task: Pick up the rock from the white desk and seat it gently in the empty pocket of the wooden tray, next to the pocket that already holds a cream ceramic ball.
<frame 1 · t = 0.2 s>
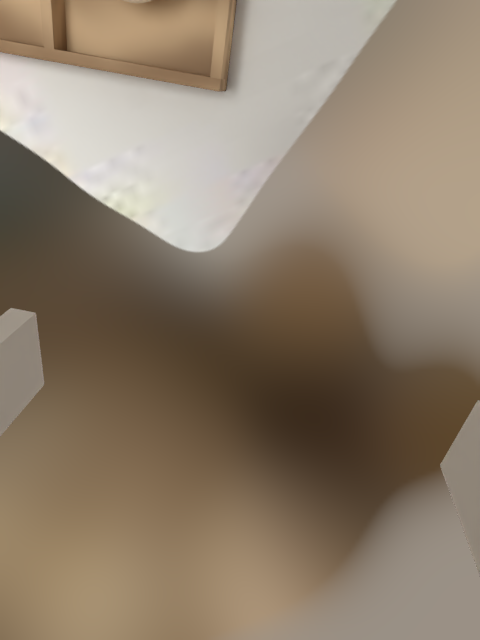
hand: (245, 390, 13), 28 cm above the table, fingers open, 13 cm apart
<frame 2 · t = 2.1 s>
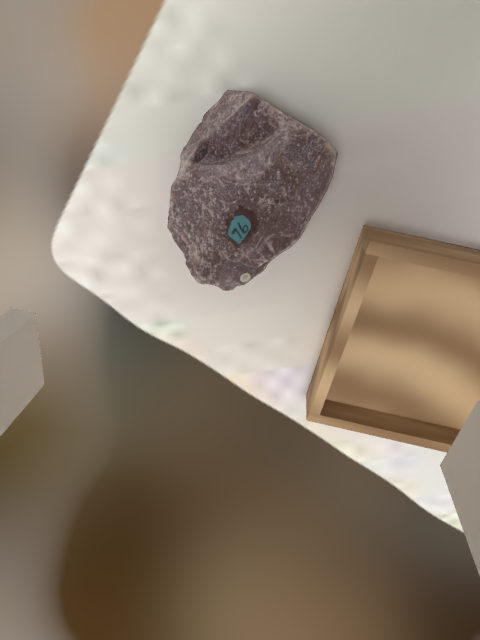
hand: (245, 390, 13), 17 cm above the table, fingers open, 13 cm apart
rock: (245, 187, 27), on the table
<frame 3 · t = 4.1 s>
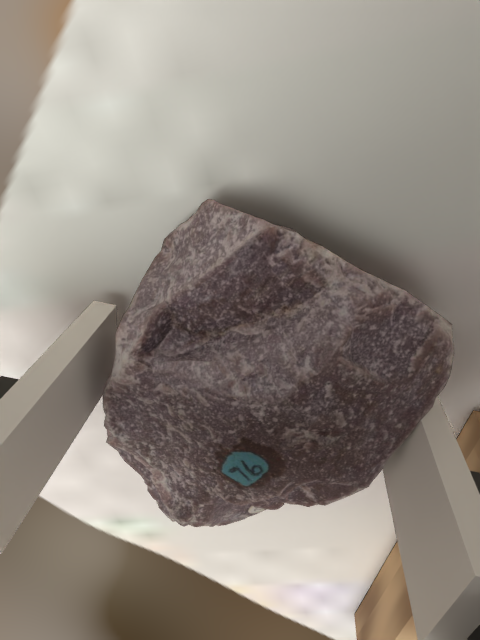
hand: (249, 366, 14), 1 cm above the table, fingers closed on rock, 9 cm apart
rock: (251, 342, 15), on the table, touching gripper
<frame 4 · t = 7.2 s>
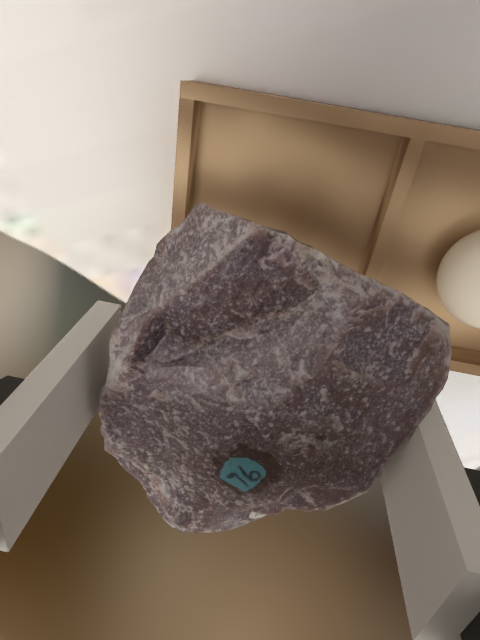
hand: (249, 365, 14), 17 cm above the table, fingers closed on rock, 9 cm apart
ceramic ball: (474, 260, 27), point 1 cm above the table, touching wooden tray
rock: (249, 345, 15), point 16 cm above the table, touching gripper
wooden tray: (372, 237, 28), on the table
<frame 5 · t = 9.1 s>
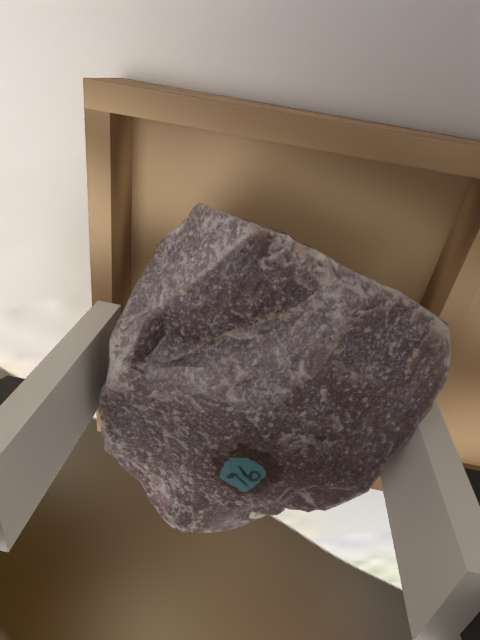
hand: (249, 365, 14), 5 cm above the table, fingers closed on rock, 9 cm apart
rock: (249, 346, 15), point 4 cm above the table, touching gripper
wooden tray: (412, 321, 18), on the table
when the fingers open (4 cm above the table, at t = 10.3 s): rock drops 2 cm, resting on wooden tray.
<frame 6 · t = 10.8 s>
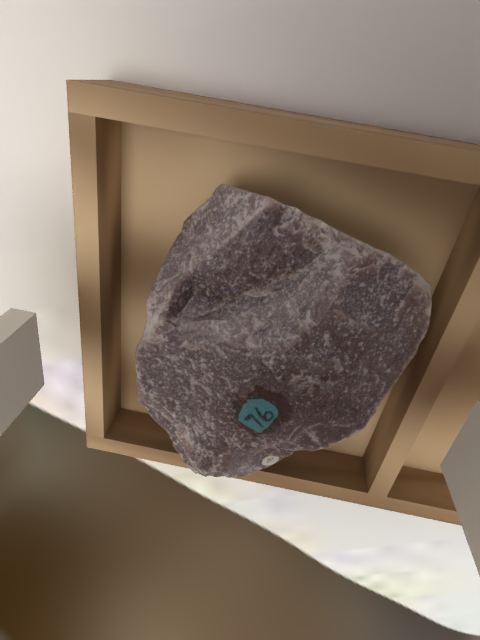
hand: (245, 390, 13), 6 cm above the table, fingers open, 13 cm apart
rock: (260, 313, 17), point 1 cm above the table, touching wooden tray
wooden tray: (415, 333, 17), on the table
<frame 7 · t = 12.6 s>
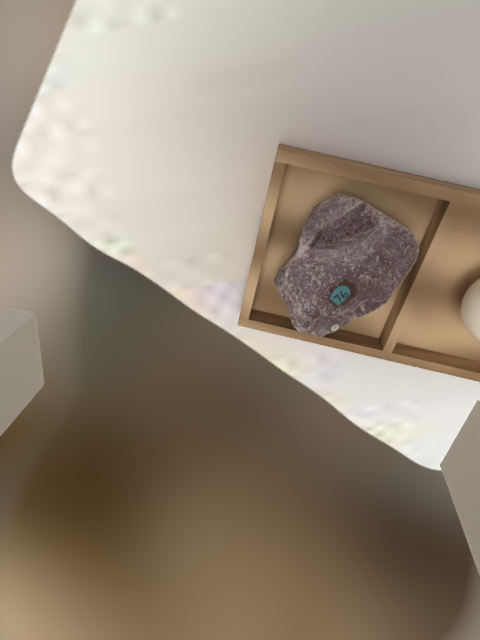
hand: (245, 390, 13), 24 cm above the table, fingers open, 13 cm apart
rock: (335, 256, 34), point 1 cm above the table, touching wooden tray
wooden tray: (409, 269, 35), on the table
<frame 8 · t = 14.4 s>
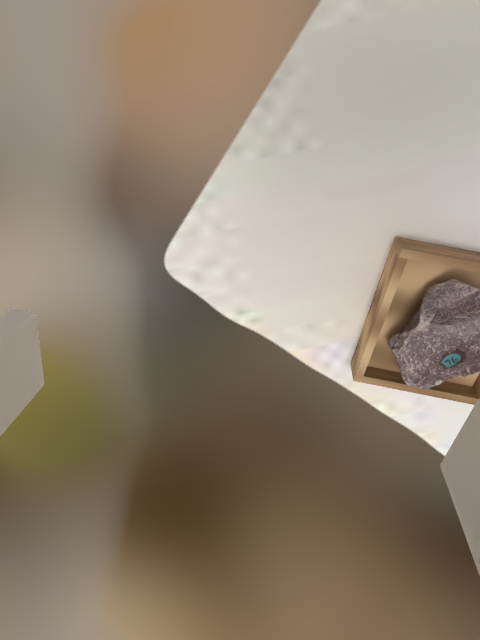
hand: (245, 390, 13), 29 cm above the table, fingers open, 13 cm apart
rock: (439, 322, 41), point 1 cm above the table, touching wooden tray
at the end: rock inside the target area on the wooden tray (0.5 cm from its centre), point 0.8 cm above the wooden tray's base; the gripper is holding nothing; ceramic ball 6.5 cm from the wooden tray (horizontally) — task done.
